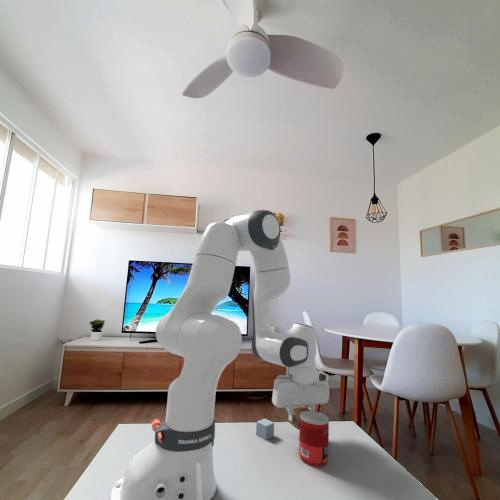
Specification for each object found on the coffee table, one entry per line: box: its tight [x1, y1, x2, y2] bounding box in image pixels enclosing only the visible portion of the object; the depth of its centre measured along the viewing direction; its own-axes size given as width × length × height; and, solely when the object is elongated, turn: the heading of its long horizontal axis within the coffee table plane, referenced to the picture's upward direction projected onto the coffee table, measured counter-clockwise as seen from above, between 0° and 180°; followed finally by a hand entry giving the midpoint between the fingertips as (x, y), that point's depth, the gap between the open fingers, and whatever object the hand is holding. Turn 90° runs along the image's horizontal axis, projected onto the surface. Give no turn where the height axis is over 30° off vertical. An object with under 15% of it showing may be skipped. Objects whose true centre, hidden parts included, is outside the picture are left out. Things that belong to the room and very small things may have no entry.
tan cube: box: [288, 405, 311, 431], centre depth 91 cm, size 5×5×5 cm
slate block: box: [255, 418, 275, 441], centre depth 90 cm, size 4×4×4 cm
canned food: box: [298, 410, 330, 467], centre depth 79 cm, size 8×8×11 cm
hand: (300, 419), depth 91 cm, fingers closed on tan cube, 5 cm apart
